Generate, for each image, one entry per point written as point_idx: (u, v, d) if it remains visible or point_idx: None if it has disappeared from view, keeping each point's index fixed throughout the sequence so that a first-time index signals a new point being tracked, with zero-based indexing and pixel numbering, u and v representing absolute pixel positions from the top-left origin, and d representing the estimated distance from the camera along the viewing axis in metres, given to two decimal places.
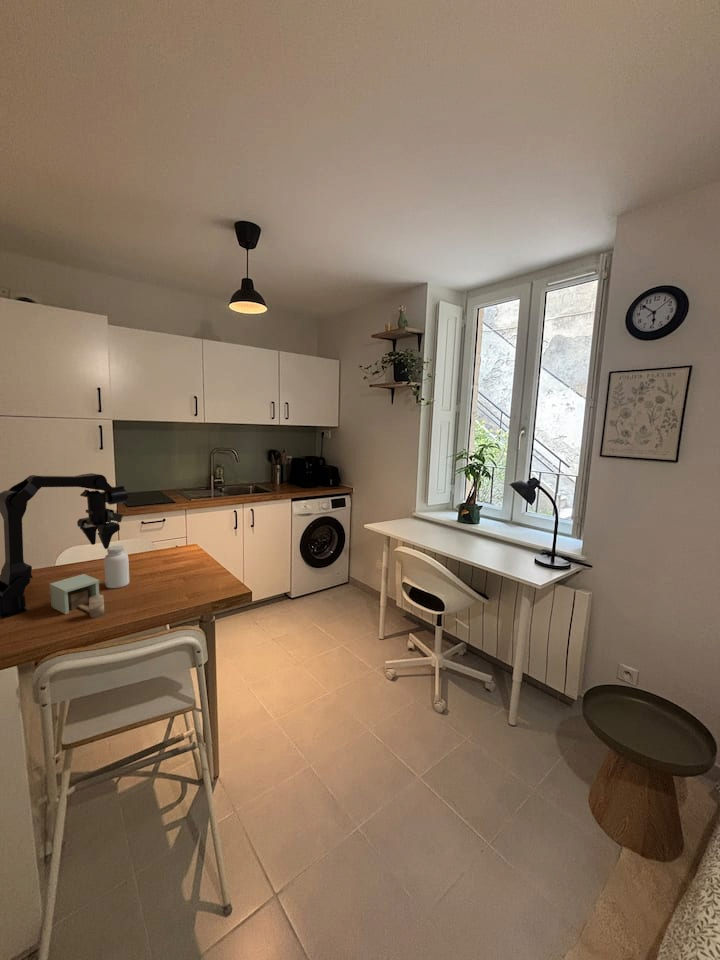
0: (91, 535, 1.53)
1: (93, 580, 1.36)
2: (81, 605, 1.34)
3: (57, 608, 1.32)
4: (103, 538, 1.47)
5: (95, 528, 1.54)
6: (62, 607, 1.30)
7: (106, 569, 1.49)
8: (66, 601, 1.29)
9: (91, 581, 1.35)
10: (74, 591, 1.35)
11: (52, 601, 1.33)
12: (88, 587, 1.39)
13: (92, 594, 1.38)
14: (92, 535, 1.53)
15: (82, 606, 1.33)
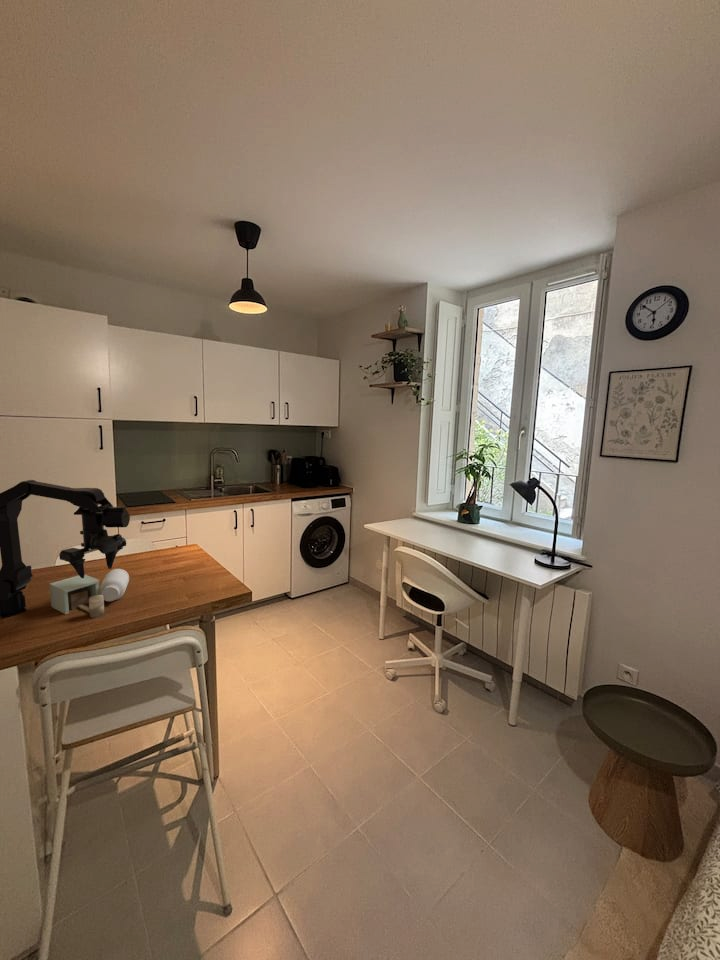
0: (109, 558, 1.35)
1: (93, 580, 1.36)
2: (81, 605, 1.34)
3: (57, 608, 1.32)
4: (72, 564, 1.25)
5: (112, 551, 1.34)
6: (62, 607, 1.30)
7: None
8: (66, 601, 1.29)
9: (91, 581, 1.35)
10: (74, 591, 1.35)
11: (52, 601, 1.33)
12: (88, 587, 1.39)
13: (92, 594, 1.38)
14: (109, 558, 1.35)
15: (82, 606, 1.33)
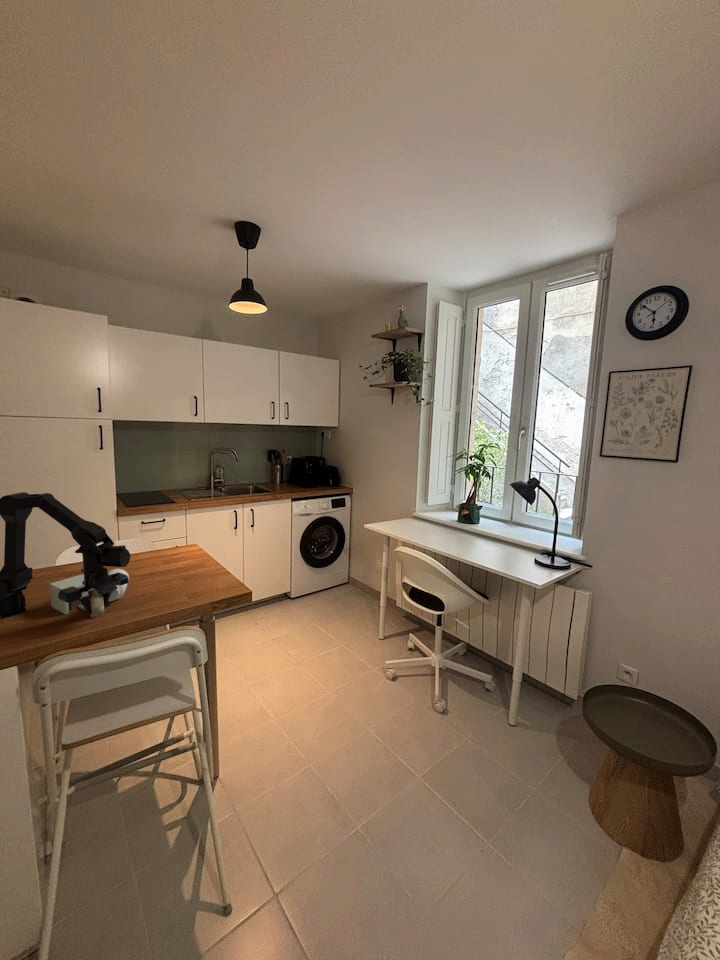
0: (103, 597, 1.31)
1: None
2: (81, 605, 1.34)
3: (57, 608, 1.32)
4: (80, 600, 1.26)
5: (106, 591, 1.30)
6: (62, 607, 1.30)
7: None
8: None
9: None
10: None
11: (52, 601, 1.33)
12: None
13: (92, 594, 1.38)
14: None
15: (82, 606, 1.33)
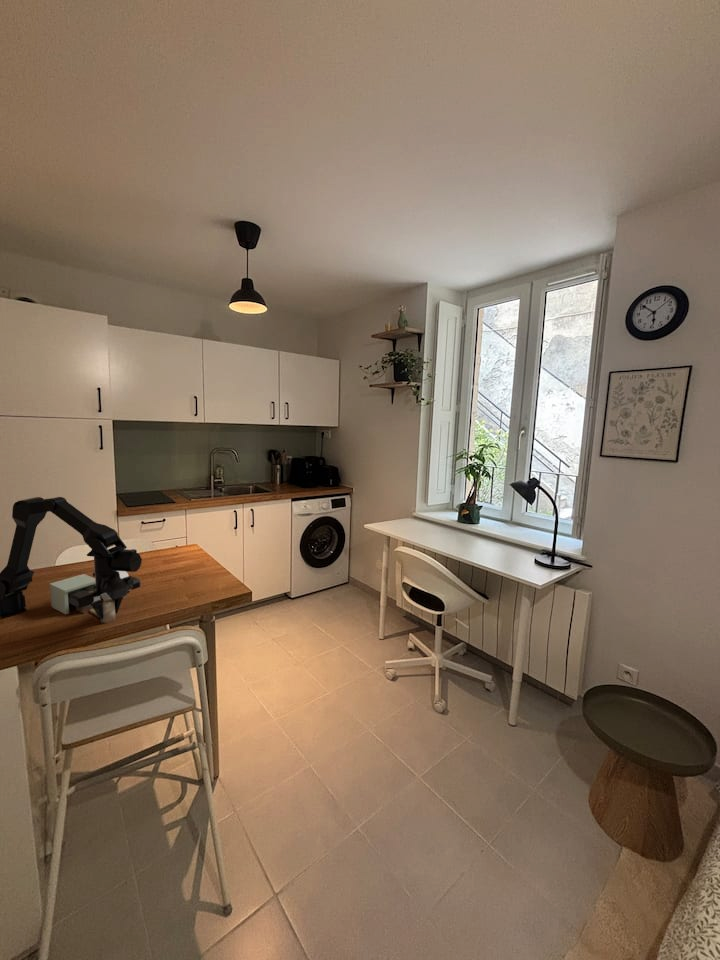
0: (115, 602, 1.28)
1: (93, 580, 1.36)
2: (93, 609, 1.31)
3: (57, 608, 1.32)
4: (92, 605, 1.23)
5: None
6: (62, 607, 1.30)
7: None
8: (66, 601, 1.29)
9: (91, 581, 1.35)
10: None
11: (52, 601, 1.33)
12: (88, 587, 1.39)
13: None
14: (115, 603, 1.28)
15: (93, 610, 1.31)
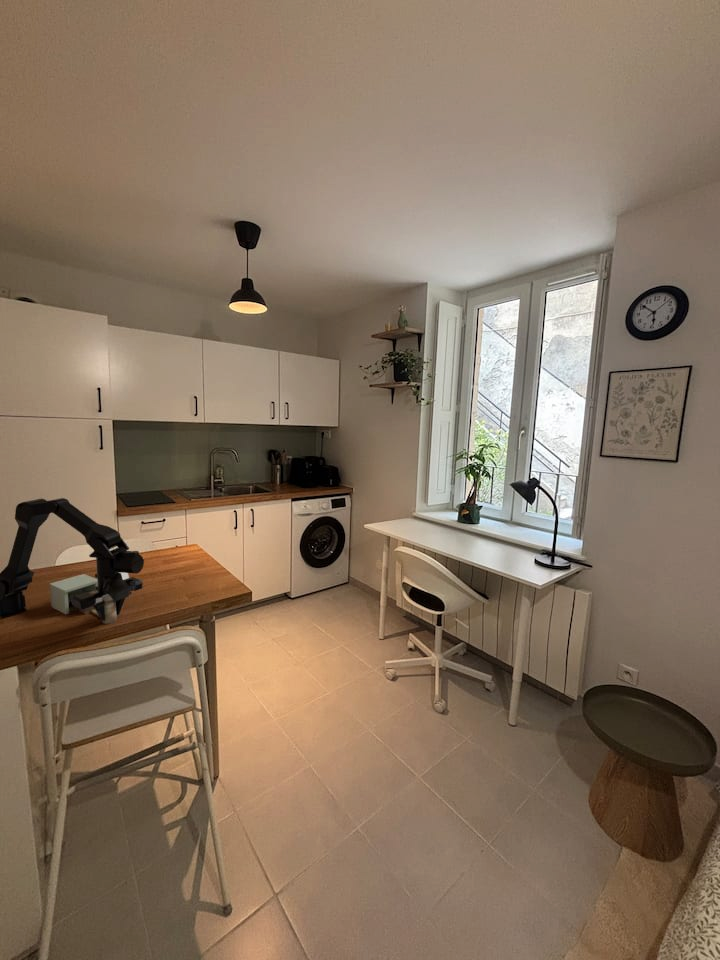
0: (117, 603, 1.27)
1: (93, 580, 1.36)
2: (94, 610, 1.31)
3: (57, 608, 1.32)
4: (94, 606, 1.22)
5: None
6: (62, 607, 1.30)
7: None
8: (66, 601, 1.29)
9: (91, 581, 1.35)
10: None
11: (52, 601, 1.33)
12: (88, 587, 1.39)
13: None
14: (117, 604, 1.27)
15: (95, 611, 1.30)
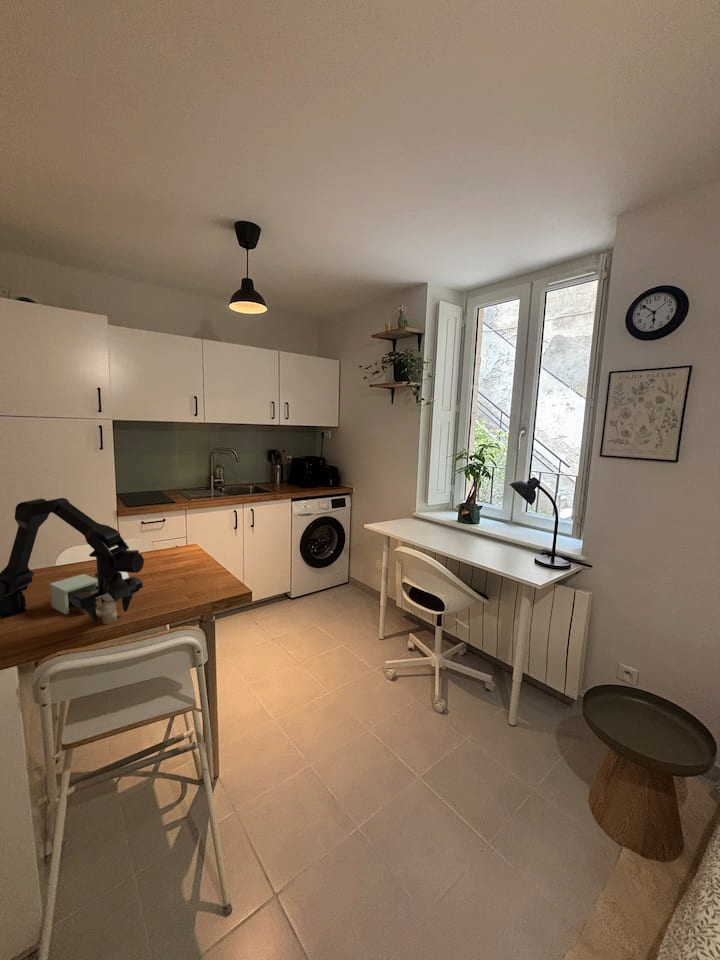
0: (125, 600, 1.29)
1: (93, 580, 1.36)
2: None
3: (57, 608, 1.32)
4: (85, 609, 1.20)
5: None
6: (62, 607, 1.30)
7: None
8: (66, 601, 1.29)
9: (91, 581, 1.35)
10: None
11: (52, 601, 1.33)
12: (88, 587, 1.39)
13: None
14: (125, 601, 1.29)
15: None
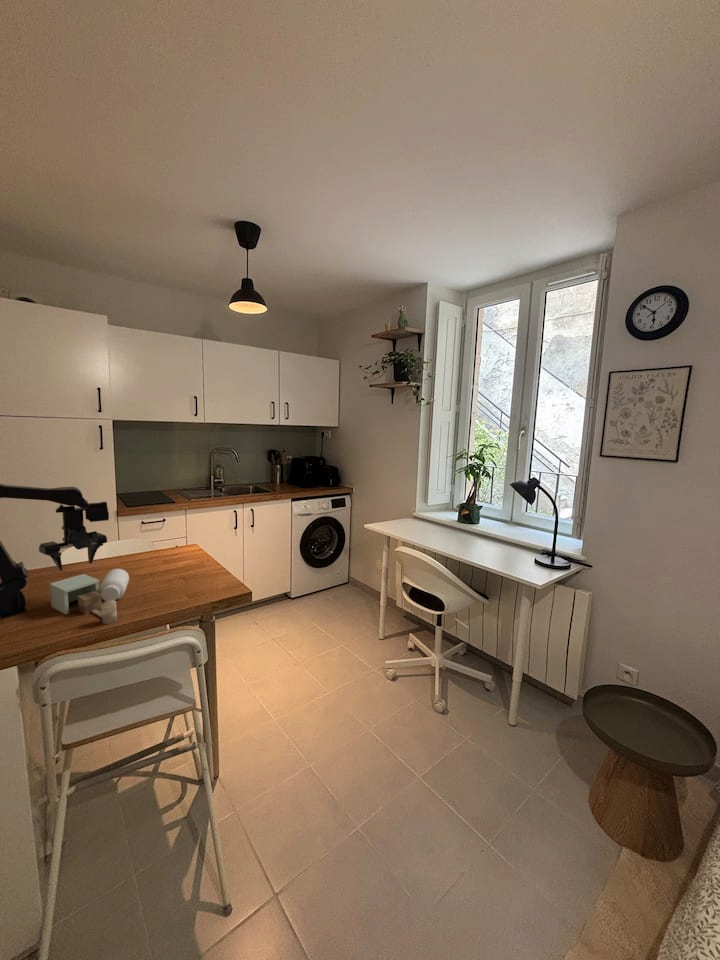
0: (90, 553, 1.42)
1: (93, 580, 1.36)
2: (95, 610, 1.31)
3: (57, 608, 1.32)
4: (52, 557, 1.34)
5: (92, 547, 1.42)
6: (62, 607, 1.30)
7: None
8: (66, 601, 1.29)
9: (91, 581, 1.35)
10: (88, 595, 1.32)
11: (52, 601, 1.33)
12: (88, 587, 1.39)
13: None
14: (90, 554, 1.42)
15: (95, 611, 1.30)
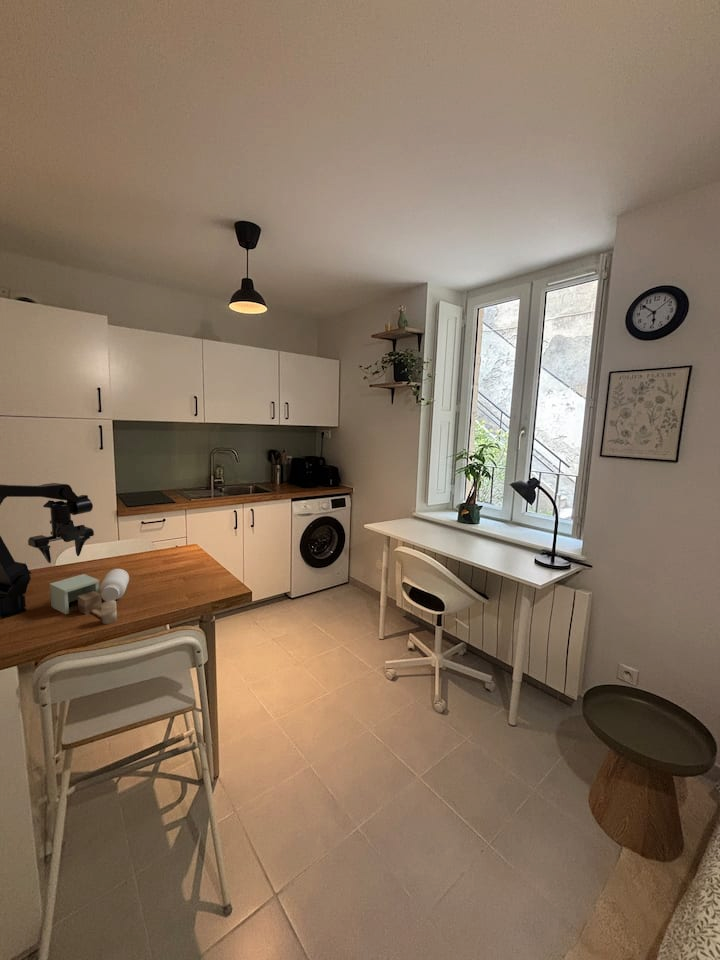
0: (77, 546, 1.49)
1: (93, 580, 1.36)
2: (95, 610, 1.31)
3: (57, 608, 1.32)
4: (41, 550, 1.40)
5: (80, 540, 1.48)
6: (62, 607, 1.30)
7: None
8: (66, 601, 1.29)
9: (91, 581, 1.35)
10: (88, 595, 1.32)
11: (52, 601, 1.33)
12: (88, 587, 1.39)
13: None
14: (77, 546, 1.49)
15: (95, 611, 1.30)
